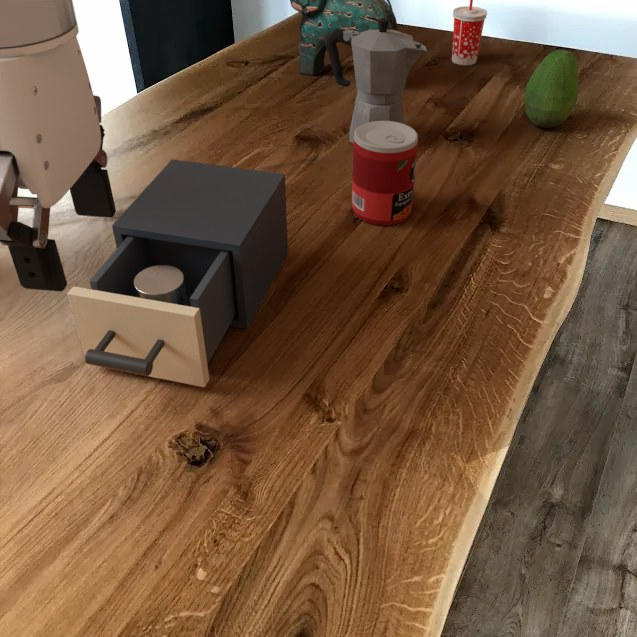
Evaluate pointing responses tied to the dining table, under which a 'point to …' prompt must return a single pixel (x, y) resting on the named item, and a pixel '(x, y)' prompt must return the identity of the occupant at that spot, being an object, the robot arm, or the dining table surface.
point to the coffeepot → (376, 71)
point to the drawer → (156, 312)
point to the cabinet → (217, 221)
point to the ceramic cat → (335, 25)
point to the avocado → (552, 89)
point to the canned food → (383, 172)
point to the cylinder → (161, 285)
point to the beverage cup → (467, 33)
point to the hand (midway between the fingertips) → (72, 248)
